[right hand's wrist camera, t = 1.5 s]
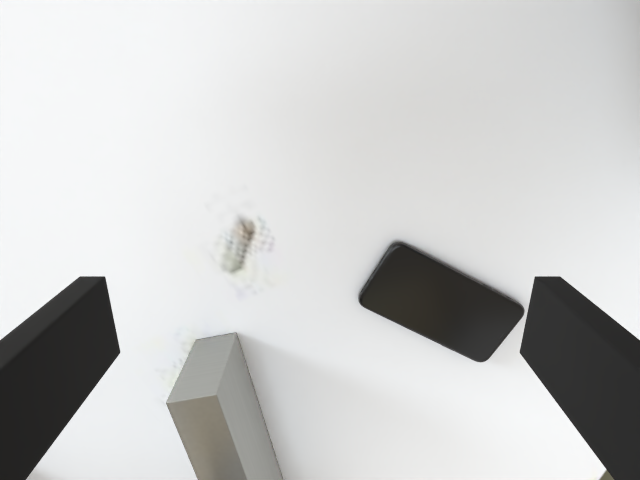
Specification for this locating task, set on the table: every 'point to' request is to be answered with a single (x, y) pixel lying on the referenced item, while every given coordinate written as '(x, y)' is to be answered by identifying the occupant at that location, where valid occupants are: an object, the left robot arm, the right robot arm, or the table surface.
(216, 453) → the bar
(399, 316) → the smartphone
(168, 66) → the table surface
